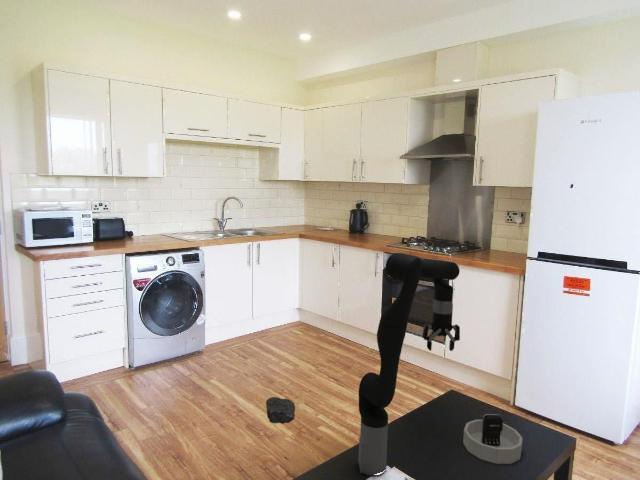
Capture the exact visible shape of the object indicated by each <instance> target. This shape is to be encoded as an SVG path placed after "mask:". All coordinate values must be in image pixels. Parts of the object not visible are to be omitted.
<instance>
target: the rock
mask: <svg viewBox="0 0 640 480" xmlns="http://www.w3.org/2000/svg"><path fill="white" fill-rule="evenodd" d="M265 406H266V407H265V408H266V416H267V419H268V421H269V423H271V424H290V422H292V421H294V420H295V417H296V415H295V411H296V407H295V402H294V401H293V400H291V399H288V398H280V397H276V396H272V397H269V398H267V399H266V401H265Z"/></svg>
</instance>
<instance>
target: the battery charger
mask: <svg viewBox="0 0 640 480" xmlns="http://www.w3.org/2000/svg"><path fill="white" fill-rule="evenodd" d="M481 420H482V437H481V442H482V443H483V444H486V445H489V446H499V445H500V434H501V431H502V429H503V424H504V422H503V419H502V416H501V415H500V414H499V413H498V414H497V413H485V414H483V416H482V419H481Z"/></svg>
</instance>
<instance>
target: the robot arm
mask: <svg viewBox="0 0 640 480" xmlns="http://www.w3.org/2000/svg"><path fill="white" fill-rule="evenodd" d="M385 272H386V275H388V277H389V278H390V279H393V280H396V281H400V282H402V286H401V289H400V291H399V294H398V295H397V297H396V299H395V300H394V301H393V302H392V303H391V304H390V305H389V306H388V307H387V308H386V309H385V310H384V311H383V313H382V314H381V316H380V318H379V324H378V327H377V331H376V343H377V348H378V353H379V356H380V357H379V359H380V370H379V374H378V373H376V372H371V371H370V372H367V373H365V374H364V375H363V376H362V378H361V379H360V382H359V386H358V412H359V414H360V431H359V433H360V434H359V435H360V436H359V437H358V461H357V462H358V463H357V464H358V467H359V473H360V474H364V475H367V476H370V477H372V476H371V475H374V474H377V473H380V472H383V471H384V470H385V469H386V470H387V456H388V454H387V452H388V429H389V414H388V411H387V410H386V409H385V408H387V407H388V406H389V405H390V404H391V403H392V401H393V399H394V396H395V392H396V387H397V379H398V370H399V364H400V360H401V353H402V350H403V345H404V341H405V337H406V332H407V328H408V325H409V324H408V323H409V319H410V318H409V317H410V313H411V309H412V305H413V301H414V299H415V295H416V291H417V289H418V286H419V282H420V279H421V278H423V279H431V280H432V282H433V287H434V296H433V297H434V298H433V299H434V300H433V304H432V320H431V324H427V323H424V324H423V330H422V338H423V339H424V340H425V341H426V348H427V349H428V351H432V347H433V346H432V345H433V342H432V341H433V340H434V339H435V338H436V337H448V338H449V339H450V340H449V345H448V349H449V351H450V352H452V351H453V350H454V349H455V343H456V342H457V341H458V342H459V341H460V340H461V339H460V338H461V336H460V335H461V329H460V328H461V327H460V325H458V324H453V312H454V305H453V304H454V302H453V298H454V288H453V286H452V285H450V284H448V283H447V282H445V280H446V281H453V280H455V279H457V278H458V277H459V275H460V267H459V265H458V263H456V262H454V261H447V260H443V259H427V258H426V259H425V258H423V259H421V258H420V257H419V256H416V255H411V254H406V253H402V252H395V253H393V254H391V255H390V256H388V259H386V262H385ZM430 329H431V331H430ZM452 330H453V331H454V336H453V335H452V333H451V331H452ZM429 331H430V333H429ZM428 334H429V335H428Z"/></svg>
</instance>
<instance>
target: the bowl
mask: <svg viewBox="0 0 640 480" xmlns="http://www.w3.org/2000/svg"><path fill="white" fill-rule="evenodd" d="M481 437H482V419H474V420H470V421H468V422H466V423H465V426H464V429H463V443H462V444H463V445H464V447H465V449H466V450H467V452H469V453H470V454H471V455H472V456H474V457H476V458H478V459H480V460H483V461H484V462H489V463H491V464H494V465H495V464H496V465H504V464H505V465H512V464H513V463H515V462H517V461H520V460H521V458H522V457H521V456H522V451H523V450H522V448H523V437H522V435H521V434H520V433H519V432H518V430H517V429H516V428H513V427H512V426H509V425H507V424H505V423H503V429H502V431H501V434H500V445H499V446H489V445H486V444H483V443H482V442H481Z"/></svg>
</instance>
